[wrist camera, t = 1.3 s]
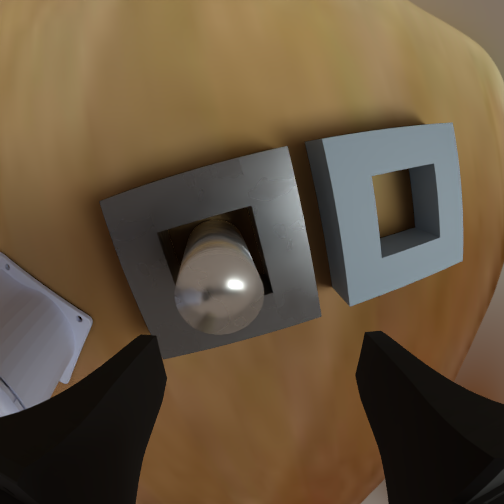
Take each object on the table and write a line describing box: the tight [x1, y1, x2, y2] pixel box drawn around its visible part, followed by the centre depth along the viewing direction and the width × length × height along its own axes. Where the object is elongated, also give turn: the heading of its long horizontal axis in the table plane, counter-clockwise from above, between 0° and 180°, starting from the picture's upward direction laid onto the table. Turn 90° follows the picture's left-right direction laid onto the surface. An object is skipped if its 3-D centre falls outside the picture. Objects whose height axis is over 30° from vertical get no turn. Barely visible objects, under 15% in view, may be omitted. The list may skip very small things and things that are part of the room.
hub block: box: [305, 123, 463, 306], centre depth 18 cm, size 10×10×3 cm
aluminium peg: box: [175, 219, 264, 335], centre depth 15 cm, size 4×4×7 cm
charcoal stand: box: [99, 146, 321, 359], centre depth 17 cm, size 10×10×3 cm
